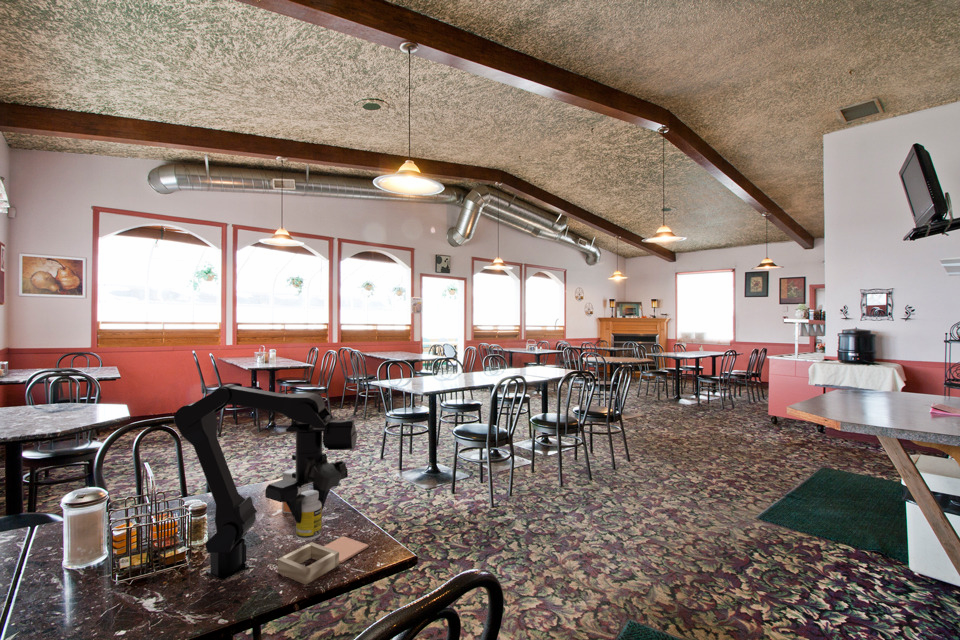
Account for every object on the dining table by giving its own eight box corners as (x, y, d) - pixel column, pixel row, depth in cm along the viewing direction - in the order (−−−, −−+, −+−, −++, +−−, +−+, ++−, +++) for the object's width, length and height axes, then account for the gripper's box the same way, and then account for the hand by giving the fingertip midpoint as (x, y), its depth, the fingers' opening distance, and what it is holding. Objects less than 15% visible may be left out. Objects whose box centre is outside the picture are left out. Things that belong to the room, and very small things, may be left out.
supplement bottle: (316, 541, 105) (316, 497, 105) (292, 541, 105) (292, 497, 105) (325, 530, 110) (325, 488, 110) (302, 530, 110) (302, 488, 110)
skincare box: (281, 513, 137) (281, 472, 137) (291, 507, 142) (291, 467, 141) (299, 515, 136) (299, 474, 136) (308, 510, 140) (308, 469, 140)
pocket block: (305, 584, 101) (305, 571, 101) (277, 572, 106) (277, 559, 106) (339, 564, 109) (339, 552, 109) (311, 554, 114) (311, 542, 114)
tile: (341, 563, 110) (341, 561, 110) (314, 553, 115) (314, 551, 115) (368, 546, 118) (368, 544, 118) (342, 538, 122) (342, 536, 122)
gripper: (298, 467, 95) (298, 544, 95) (364, 445, 111) (364, 511, 111) (263, 458, 101) (263, 530, 101) (331, 438, 117) (331, 501, 117)
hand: (309, 518), depth 107 cm, fingers closed on supplement bottle, 5 cm apart
